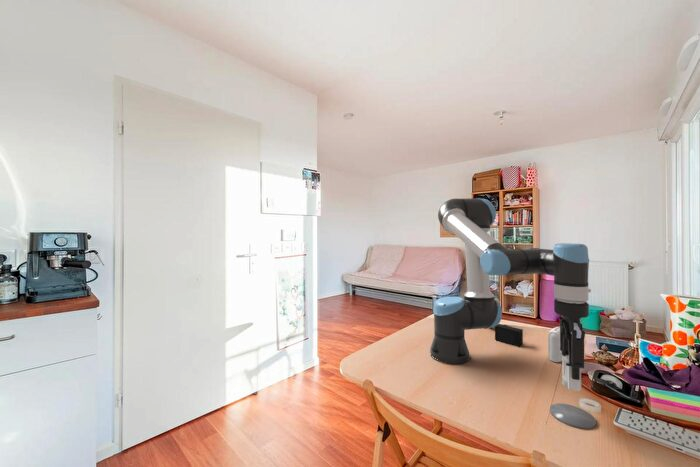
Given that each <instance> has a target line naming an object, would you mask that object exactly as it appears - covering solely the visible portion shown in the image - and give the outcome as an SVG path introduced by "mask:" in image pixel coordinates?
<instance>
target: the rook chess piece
mask: <svg viewBox="0 0 700 467" xmlns="http://www.w3.org/2000/svg"><path fill="white" fill-rule="evenodd" d="M564 360H565V362H566V363H569V355H568V357H567V355H566V358H564ZM565 366H566V364H565ZM561 380H562V381H561V384H562V385H563V386H564V387H565V388H567V389H568V366H566V371H565V375H564V377H563V376H562V377H561ZM582 387H583V385H581V389H582Z"/></svg>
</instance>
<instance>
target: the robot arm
mask: <svg viewBox="0 0 700 467" xmlns="http://www.w3.org/2000/svg"><path fill="white" fill-rule="evenodd" d="M437 212H438V213H437V219H438V222H439V224H440V225H441V226H442V228H444V229H445V230H447V231H448V232H452V233H453V234H454V235H455V236H456V237H457V238H458V239H460V241H462V243H464V249H465V250H464V252H465V254H464V255H465V269H466V270H465V272H466V287H467V289H466V290H467V291H466V292H465V293H464V294H463V298H462V297H460V296H444V297H440V298H438V299H436V300H435V301H434V306H433V323H434V324H433V325H434V326H433V327H434V331H433V332H434V334H433V335H434V336H433V338H432V341H431V345H430V348H429V349H430V350H429V351H430V352H429V353H431V355H432V356H433V357H434V358H436V359H438V360H440V361H442V362H441V363H444V362H446V363H445V364H449V363H450V364H452V365H459V364H465V363H468V361H469V360H470V351H469V348H468V344H467V342H466V339H465V331H467V330H469V331H470V330H479V329H480V330H481V329H482V330H483V329H485V330H486V329H487V330H488V329H490V328H491V329H492V328H493V327H495V326H497V325H498V324H500V322H501V320H502V318H503V310H502V309H503V308H502V306H501V304H500V302H499V301H498V300H497V299H495V295H494V294H493V292H491V288H490V276H497V277H498V276H499V277H501V276H511V275H512V276H513V275H533V274H535V275H537V274H541V275H550V276H553V297H554V298H555V299H554V301H553V307H554V308H553V311H554V313H556V314H557V315H560V316H559V317H558V320H559V327H560V350H561V351H562V355H563V356H564V357H563V356H562V361H561V365H562V377H564V375H565V371H566V366H568V388H567V389H568V391H574V392H575V391H576V392H582V388H581V386H582V369H585V338H586V332H585V330H583V324H582V323H581V321H580V319H583V318H588V317H589V315H590V305H589V303H588V301H589V293H591V292H592V290H591V288H589V266H590V265H589V264H590V258H589V249H588V246H587V245H586V244H584V243H570V242H569V243H565V242H564V243H563V242H562V243H561V242H560V243H555V244H554V245H553V249H546V248H540V247H539V248H538V247H528V248H523V249H521V248H517V249H509V248H508V247H506V246H504V245H503V244H502V243H501V242H499V241H498V240H496V239H495V238H494V237H493V236H492V235H490V234H489V231H490V230H491V226H492V225H493V224H494V223H495V220H496V218H497V212H496V208H495V206H494V204H493V203H492V202H491V201H490V200H488V199H486V198H478V197H477V198H476V197H475V198H451V199H447V200H446V201H445V202H444V203H442V204H441V205H440V207H439V209H438V211H437ZM431 355H430V356H431ZM566 355H567V357H568V355H569V363H566V362H565V360H564V358H566ZM432 356H431V357H432ZM433 357H432V358H433ZM434 358H433V359H434ZM436 359H435V360H436ZM438 360H437V361H438ZM440 361H439V362H440ZM565 364H566V366H565Z"/></svg>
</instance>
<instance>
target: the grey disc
mask: <svg viewBox="0 0 700 467" xmlns="http://www.w3.org/2000/svg"><path fill="white" fill-rule="evenodd" d="M549 412H550V414H551V415H552V416H553V417H554V418H555V420H557V421H559V422H561V423H563V424H565V425H567V426H569V427H573V428H577V429H582V430H590V429H593V428H595V427H596V426H597V420H596V417H594V416H593V415H592V414H591V413H590V412H588V411H586V410H585V409H583V408H580V407H578V406H575V405H572V404H567V403H562V402H561V403H552V404H551V405H550V406H549Z"/></svg>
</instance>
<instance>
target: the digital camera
mask: <svg viewBox="0 0 700 467" xmlns="http://www.w3.org/2000/svg"><path fill="white" fill-rule="evenodd" d="M523 331H524V330H523V329H522V328H518V327H514V326H511V325H510V326H509V325H507V324H500V323H499V324H498V325H497V326H495V330H494V341H495V340H496V342H498V341H499V342H500V343H503V344H505V345H509V346H514V347H517V348H520V347H522V346H523V344H524V343H523V341H524V340H523V339H524V332H523Z"/></svg>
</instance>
